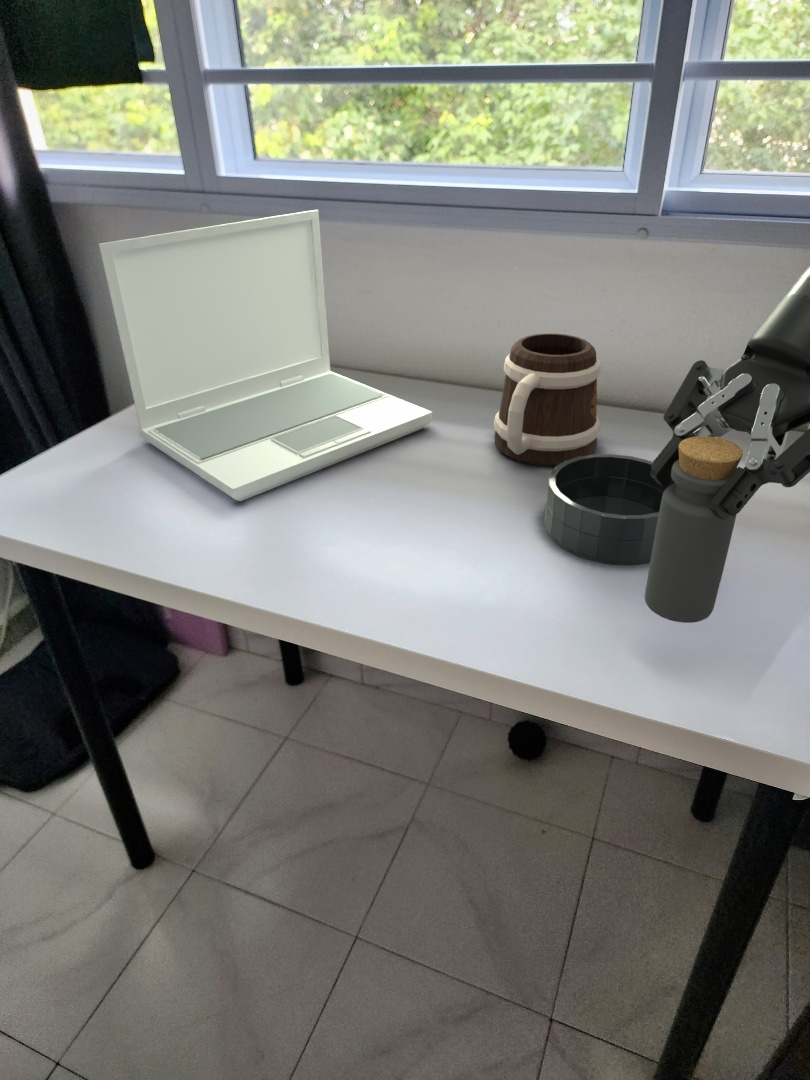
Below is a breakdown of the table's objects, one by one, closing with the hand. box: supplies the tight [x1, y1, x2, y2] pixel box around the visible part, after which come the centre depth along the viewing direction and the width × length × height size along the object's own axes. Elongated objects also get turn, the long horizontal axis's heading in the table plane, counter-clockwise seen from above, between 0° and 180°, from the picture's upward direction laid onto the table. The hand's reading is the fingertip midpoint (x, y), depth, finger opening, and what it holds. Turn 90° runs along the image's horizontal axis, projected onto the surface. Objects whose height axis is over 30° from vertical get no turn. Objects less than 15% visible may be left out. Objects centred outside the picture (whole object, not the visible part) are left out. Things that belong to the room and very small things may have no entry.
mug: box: [493, 333, 602, 467], centre depth 103 cm, size 20×15×15 cm
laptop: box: [98, 209, 434, 502], centre depth 106 cm, size 35×26×28 cm
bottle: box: [644, 436, 744, 624], centre depth 62 cm, size 6×6×15 cm
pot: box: [544, 453, 675, 566], centre depth 88 cm, size 16×16×6 cm
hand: (686, 496), depth 59 cm, fingers closed on bottle, 5 cm apart
